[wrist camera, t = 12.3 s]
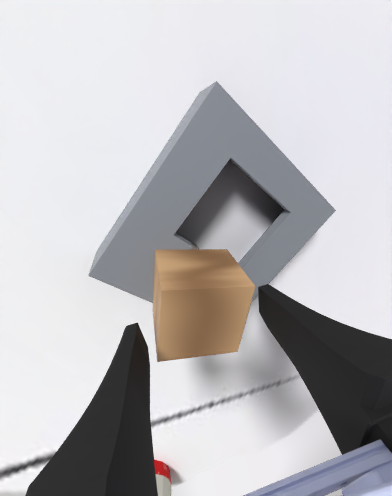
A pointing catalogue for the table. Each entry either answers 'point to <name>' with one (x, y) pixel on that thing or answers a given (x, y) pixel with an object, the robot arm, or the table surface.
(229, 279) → the peg
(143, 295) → the square hole plate
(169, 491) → the kitchen timer
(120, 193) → the table surface
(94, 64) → the table surface
